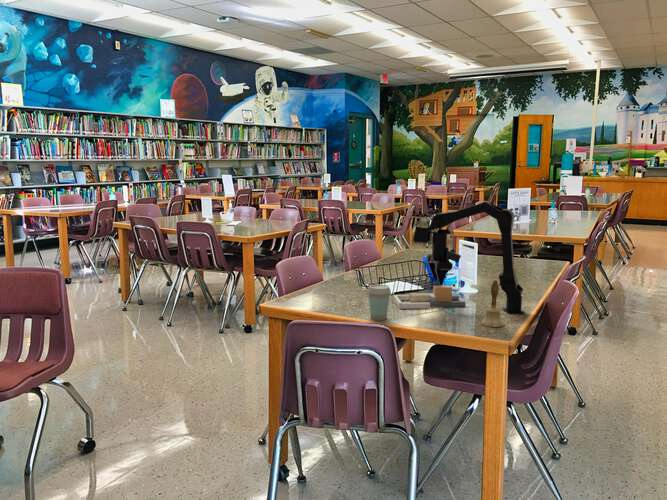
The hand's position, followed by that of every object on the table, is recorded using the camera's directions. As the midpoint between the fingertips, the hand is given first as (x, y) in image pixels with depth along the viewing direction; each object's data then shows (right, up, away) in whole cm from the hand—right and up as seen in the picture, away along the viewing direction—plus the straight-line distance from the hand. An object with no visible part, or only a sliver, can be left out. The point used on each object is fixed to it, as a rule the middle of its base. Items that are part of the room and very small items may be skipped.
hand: (438, 282), depth 238 cm
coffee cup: (-26, -12, -20) cm, 35 cm away
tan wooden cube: (-9, -9, +1) cm, 13 cm away
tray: (-10, -9, +1) cm, 14 cm away
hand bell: (+15, -14, -27) cm, 34 cm away
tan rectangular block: (+2, -9, +1) cm, 9 cm away
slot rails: (+3, -9, +2) cm, 9 cm away
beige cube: (-5, -9, +1) cm, 10 cm away
